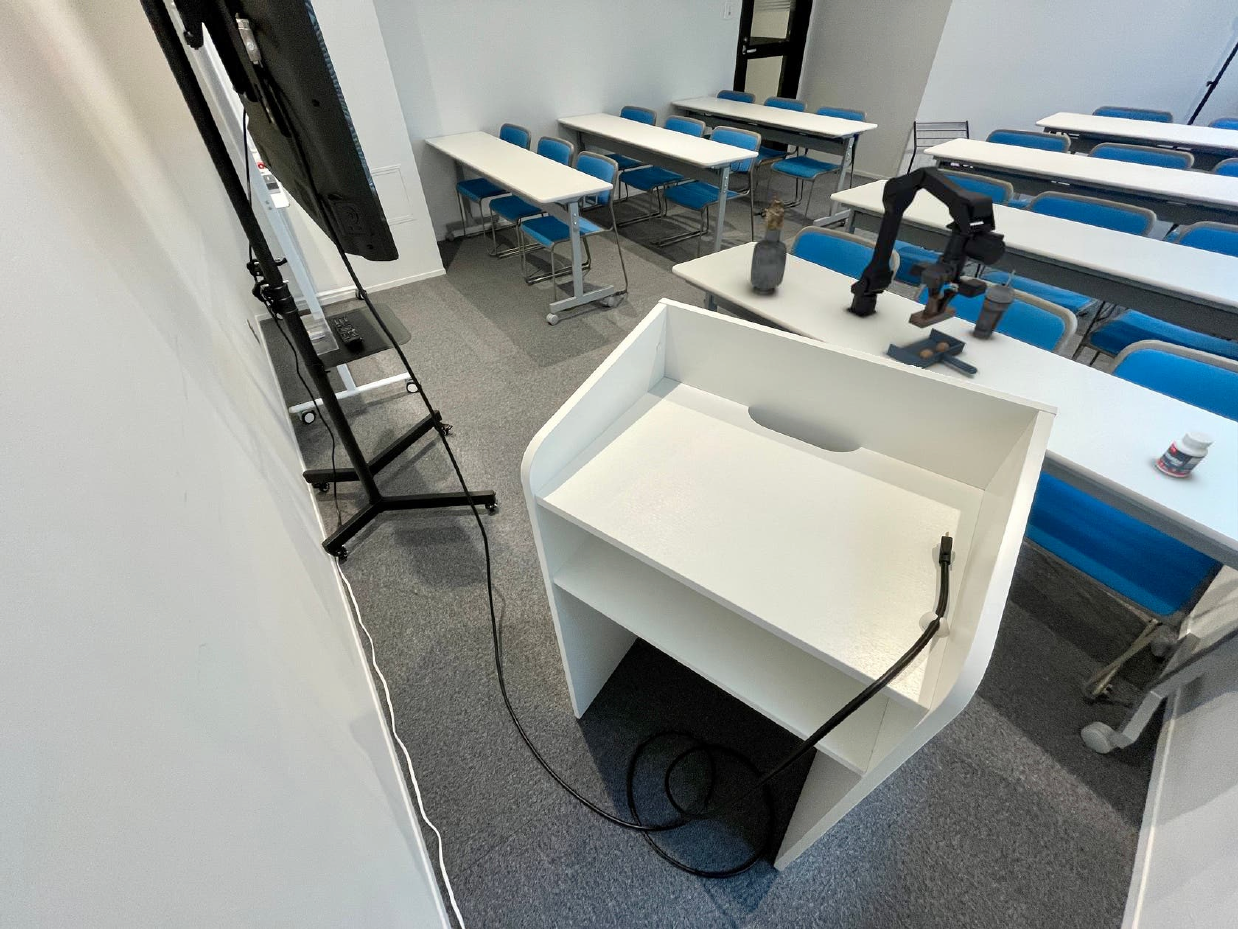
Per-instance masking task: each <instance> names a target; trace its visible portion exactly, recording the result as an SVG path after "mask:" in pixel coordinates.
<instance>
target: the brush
mask: <svg viewBox="0 0 1238 929" xmlns="http://www.w3.org/2000/svg"><path fill="white" fill-rule="evenodd" d="M943 296H944V291H940V293H938V294H935V295H932V296H929V298H927V300H926V303H925V305H924V309H922V310H919V311H918V310H917V311H916V312H913V313H911V314H910V316H909V318H908V321H907V323H908V324H910V325H912V326H914V327H917V328H918V329H921V330H922V329H925V328H928V327H931V326H933V325H937V324H939V323H941V322H942V323H943V322H945V321H947V320H950V319H952V318H954V317H955V315H956V312H957V309H958V308H956V307H954V306H951V305H949V304H948V305H947V306H946V307H945V308H944V309H943V310H942V311H940V312H938V308H939V305H940V303H941V301H942V298H943Z"/></svg>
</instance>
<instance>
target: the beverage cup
mask: <svg viewBox="0 0 1238 929" xmlns="http://www.w3.org/2000/svg"><path fill="white" fill-rule="evenodd" d="M1016 271H1017V270H1016V269H1013V270H1012V272H1011V274H1010V276H1009V277H1008V279H1007V281H1006V283H1005V282H1003V283H1002V282H999V283H997V284H994V285H993V286H991V287H990V288H989V289H988V290H986V292H985V294H983V295H984V296H983V299H982V300H983V301H982V304H981V305H982V306H981V309H980V311H979V315H978V318H977V320H976V323H975V326H974V330H973V333H972V335H973V337H975V338H977V339H981V340H989V339H990V338H991V337H992V335H993V334H994V332H995V330H997V327H998V326H999V324H1000V322H1001V321H1002V319H1003V317H1004V315H1005V314H1006V312H1007V311H1008V309H1009V308H1010V307H1011V305H1012V304H1013V303H1014V301H1015V295H1016V291H1015V289H1014V288H1013V286H1012V285H1010V282H1011V280H1012V278H1013V276H1014V274H1015V273H1016Z"/></svg>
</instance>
